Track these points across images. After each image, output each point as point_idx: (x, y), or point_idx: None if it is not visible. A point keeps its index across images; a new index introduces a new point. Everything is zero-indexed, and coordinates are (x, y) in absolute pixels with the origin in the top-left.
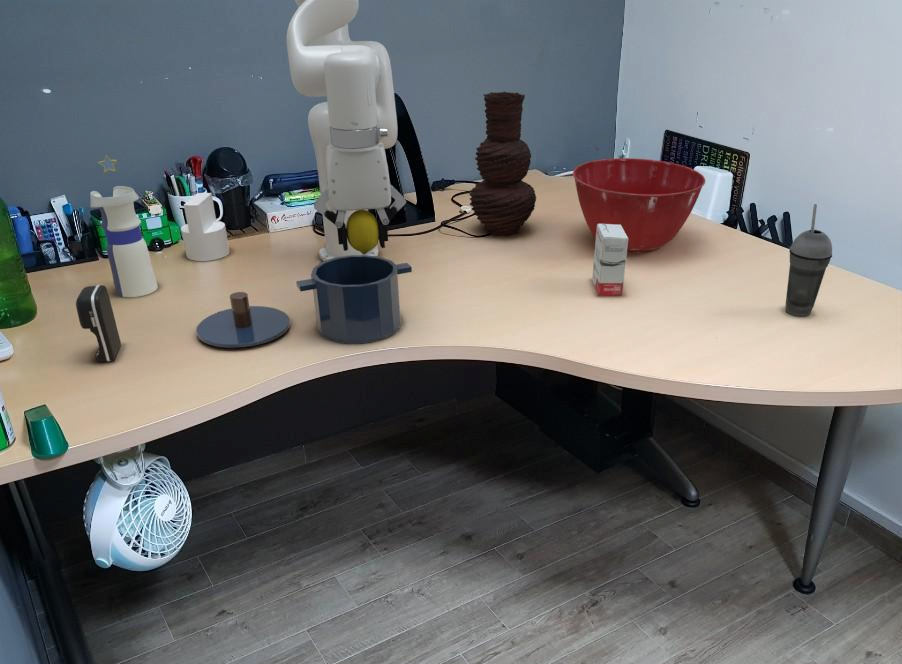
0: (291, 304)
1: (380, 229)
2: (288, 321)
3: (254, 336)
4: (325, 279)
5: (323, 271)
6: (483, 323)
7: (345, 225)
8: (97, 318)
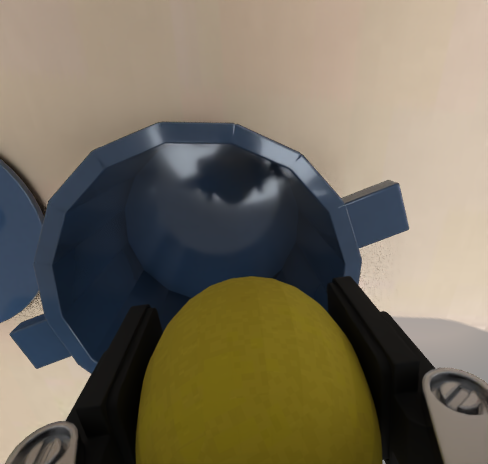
0: (3, 72)
1: None
2: (40, 228)
3: None
4: (93, 204)
5: (76, 219)
6: (483, 228)
7: (130, 450)
8: None
